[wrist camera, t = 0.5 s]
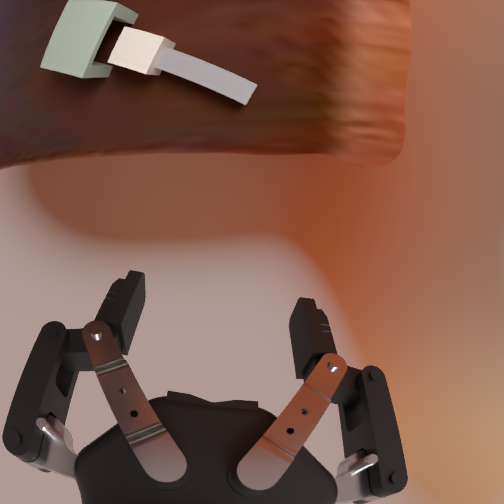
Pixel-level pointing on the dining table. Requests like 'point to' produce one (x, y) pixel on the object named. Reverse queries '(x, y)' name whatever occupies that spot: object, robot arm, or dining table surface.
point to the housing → (83, 37)
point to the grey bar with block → (175, 64)
